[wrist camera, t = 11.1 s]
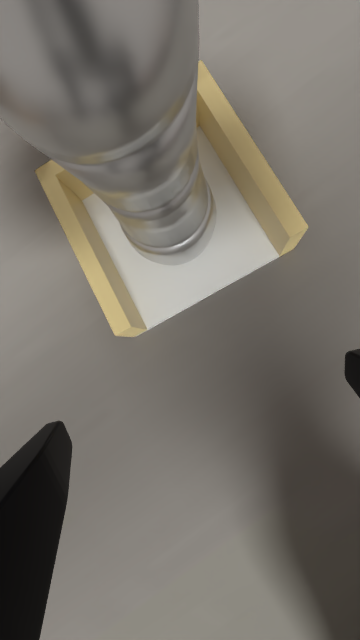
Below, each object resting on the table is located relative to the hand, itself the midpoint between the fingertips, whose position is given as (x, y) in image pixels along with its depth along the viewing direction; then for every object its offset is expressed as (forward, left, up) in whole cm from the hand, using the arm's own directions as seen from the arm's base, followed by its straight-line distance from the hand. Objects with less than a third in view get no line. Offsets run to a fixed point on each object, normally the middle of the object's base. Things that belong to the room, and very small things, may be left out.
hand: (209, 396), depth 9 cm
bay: (+7, -9, -12) cm, 17 cm away
